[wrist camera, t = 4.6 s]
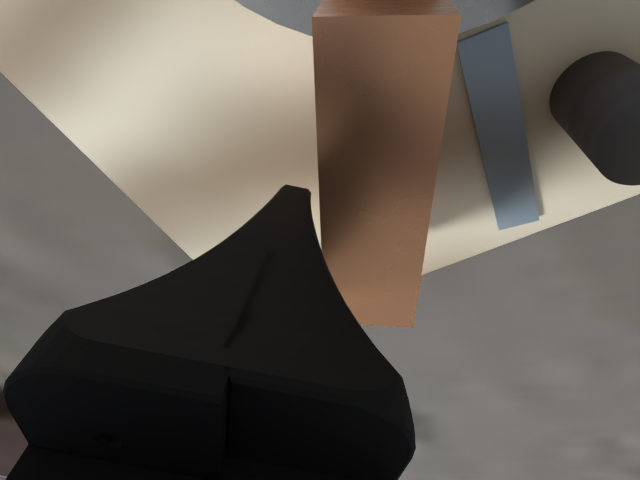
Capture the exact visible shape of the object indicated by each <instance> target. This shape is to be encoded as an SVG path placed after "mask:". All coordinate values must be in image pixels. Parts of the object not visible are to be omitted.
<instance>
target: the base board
mask: <svg viewBox="0 0 640 480" xmlns="http://www.w3.org/2000/svg"><path fill="white" fill-rule="evenodd" d="M0 72H1V73H2V74H3V75H4V76H5V77H6V78H7V79H8V80H9V81H10V82H11V83H12V84H14V85H15V86H16V87H17V88H18V89H19V90H20V91H21V92H22V93H23V94H24V95H25V96H26V97H27V98H28V99H29V100H30V101H31V102H32V103H33V104H34V105H35V106H36V107H37V108H38V109H39V110H40V111H41V112H42V113H43V114H44V115H45V116H46V117H47V118H48V119H49V120H50V121H51V122H52V123H53V124H55V125H56V126H57V127H58V128H59V129H60V130H61V131H62V132H63V133H64V134H65V135H66V136H67V137H68V138H69V139H70V140H71V141H72V142H73V143H74V144H75V145H76V146H77V147H78V148H79V149H80V150H81V151H82V152H83V153H84V154H85V155H86V156H87V157H88V158H89V159H90V160H91V161H92V162H93V163H94V164H96V165H97V166H98V167H99V168H100V169H101V170H102V171H103V172H104V173H105V174H106V175H107V176H108V177H109V178H110V179H111V180H112V181H113V182H114V183H115V184H116V185H117V186H118V187H119V188H120V189H121V190H122V191H123V192H124V193H125V194H126V195H127V196H128V197H129V198H130V199H131V200H132V201H133V202H134V203H136V204H137V205H138V206H139V207H140V208H141V209H142V210H143V211H144V212H145V213H146V214H147V215H148V216H149V217H150V218H151V219H152V220H153V221H154V222H155V223H156V224H157V225H158V226H159V227H160V228H161V229H162V230H163V231H164V232H165V233H166V234H167V235H168V236H169V237H170V238H171V239H172V240H173V241H174V242H175V243H177V244H178V245H179V246H180V247H181V248H182V249H183V250H184V251H185V252H186V253H187V254H188V255H189V256H190V257H191V258H192V259H193V260H194V259H196V258H197V257H199V256H201V255H202V254H204V253H205V252H207V251H209V250H210V249H212V248H213V247H215V246H216V245H218V244H219V243H220V242H222V241H223V240H225V239H226V238H227V237H229V236H230V235H231V234H232V233H234V232H235V231H236V230H238V229H239V228H240V227H241V226H243V225H244V224H245V223H246V222H247V221H249V220H250V219H251V218H252V217H253V216H254V215H255V214H256V213H257V212H258V211H259V210H261V209H262V208H263V207H264V206H265V205H266V204H267V203H268V202H269V201H270V200H271V199H272V198H273V196H274V195H275V194H276V193H277V192H278V191H279V190H280V188H281V187H283V186H284V185H285V184H286V185H291V186H296V187H301V188H307V189H309V191H310V192H311V210H312V217H313V222H314V226H315V230H316V234H317V238H318V241H319V244H320V247H321V230H320V205H319V181H318V157H317V133H316V109H315V85H314V61H313V37H312V36H309V35H306V34H303V33H301V32H298V31H295V30H292V29H289V28H287V27H284V26H281V25H278V24H276V23H274V22H272V21H270V20H268V19H266V18H264V17H262V16H261V15H259V14H257V13H255V12H253V11H251V10H249V9H247V8H245V7H243V6H242V5H240V4H239V3H238V2H236V1H235V0H0ZM638 194H640V0H535V1H533V2H531V3H529V4H527V5H525V6H523V7H521V8H519V9H517V10H515V11H513V12H511V13H509V14H507V15H505V16H503V17H501V18H499V19H497V20H495V21H492V22H489V23H487V24H484V25H481V26H478V27H475V28H472V29H470V30H467V31H464V32H461V33H459V34H458V40H457V47H456V53H455V60H454V66H453V73H452V79H451V86H450V92H449V99H448V105H447V112H446V118H445V125H444V131H443V138H442V144H441V151H440V157H439V164H438V170H437V177H436V183H435V190H434V196H433V203H432V209H431V216H430V222H429V229H428V235H427V242H426V248H425V255H424V261H423V268H422V274H421V275H423V274H426V273H428V272H431V271H434V270H436V269H439V268H442V267H445V266H447V265H450V264H453V263H455V262H458V261H461V260H463V259H466V258H469V257H471V256H474V255H477V254H479V253H482V252H485V251H488V250H490V249H493V248H496V247H498V246H501V245H504V244H506V243H509V242H512V241H514V240H517V239H520V238H522V237H525V236H528V235H531V234H533V233H536V232H539V231H541V230H544V229H547V228H549V227H552V226H555V225H557V224H560V223H563V222H565V221H568V220H571V219H574V218H576V217H579V216H582V215H584V214H587V213H590V212H592V211H595V210H598V209H600V208H603V207H606V206H608V205H611V204H614V203H617V202H619V201H622V200H625V199H627V198H630V197H633V196H635V195H638Z"/></svg>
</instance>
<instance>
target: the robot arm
mask: <svg viewBox="0 0 640 480" xmlns="http://www.w3.org/2000/svg"><path fill="white" fill-rule="evenodd" d="M3 394H4V397H5V400H6V403H7V406H8V409H9V411H10V412H11V414H12V416H13V417H14V419H15V421H16V423H17V424H18V426H19V428H20V429H21V431H22V433H23V435H24V436H25V438H26V440H27V442H28V443H29V445H28V446H27V448H26V449H25V451H24V452H23V454H22V455H21V457H20V458H19V460H18V461H17V463H16V464H15V466H14V467H13V469H12V470H11V472H10V474H9V475H8V477H6V476H0V480H398V479H399V477H400V476H401V474H402V473H403V471H404V470H405V468H406V467H407V465H408V464H409V462H410V461H411V459H412V457H413V454H414V451H415V448H416V446H415V431H414V424H413V419H412V413H411V409H410V404H409V400H408V396H407V392H406V389H405V385H404V382H403V379H402V377H401V375H400V374H399V373H398V372H397V371H396V370H395V369H394V367H393V366H392V365H391V364H390V363H389V362H388V361H387V359H386V358H385V357H384V356H383V355H382V354H381V353H380V352H379V350H378V349H377V348H376V347H375V345H374V344H373V343H372V341H371V340H370V338H369V337H368V336H367V334H366V333H365V332H364V330H363V329H362V327H361V326H360V324H359V323H358V321H357V320H356V318H355V317H354V315H353V313H352V312H351V310H350V309H349V307H348V306H347V304H346V302H345V301H344V299H343V297H342V295H341V293H340V291H339V290H338V288H337V286H336V284H335V282H334V280H333V277H332V275H331V273H330V271H329V269H328V266H327V264H326V261H325V259H324V256H323V253H322V250H321V247H320V244H319V241H318V238H317V234H316V230H315V226H314V222H313V217H312V210H311V192H310V191H309V189H307V188H301V187H296V186H291V185H286V184H285V185H284V186H283V187H281V188H280V190H279V191H278V192H277V193H276V194H275V195H274V196H273V198H272V199H271V200H270V201H269V202H268V203H267V204H266V205H265V206H264V207H263V208H262V209H261V210H259V211H258V212H257V213H256V214H255V215H254V216H253V217H252V218H251V219H250V220H249V221H247V222H246V223H245V224H244V225H243V226H241V227H240V228H239V229H238V230H236V231H235V232H234V233H232V234H231V235H230V236H229V237H227V238H226V239H225V240H223V241H222V242H220V243H219V244H218V245H216V246H215V247H213V248H212V249H210V250H209V251H207V252H205V253H204V254H202V255H201V256H199V257H197V258H196V259H194V260H192V261H190V262H188V263H187V264H185V265H183V266H181V267H179V268H177V269H175V270H173V271H171V272H170V273H168V274H166V275H163V276H161V277H159V278H157V279H154V280H152V281H150V282H148V283H145V284H143V285H140V286H138V287H135V288H133V289H130V290H128V291H125V292H122V293H120V294H117V295H114V296H111V297H108V298H105V299H102V300H99V301H95V302H92V303H89V304H86V305H83V306H80V307H77V308H74V309H70V310H67V311H64V312H63V313H62V315H61V316H60V317H59V318H58V319H57V320H56V321H55V322H54V323H53V324H52V325H51V326H50V327H49V328H48V329H47V330H46V331H45V332H44V334H43V335H42V336H41V337H40V338H39V339H38V341H37V342H36V343H35V344H34V346H33V347H32V348H31V349H30V351H29V352H28V353H27V354H26V356H25V357H24V358H23V359H22V361H21V362H20V363H19V364H18V366H17V367H16V368H15V370H14V371H13V372H12V373H11V375H10V376H9V377H8V378H7V380H6V381H5V385H4V389H3Z"/></svg>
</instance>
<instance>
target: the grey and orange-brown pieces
mask: <svg viewBox="0 0 640 480" xmlns="http://www.w3.org/2000/svg"><path fill="white" fill-rule="evenodd" d="M235 1H236V2H238V3H239V4H240V5H242V6H243V7H245V8H247V9H249V10H251V11H253V12H255V13H257V14H259V15H261V16H262V17H264V18H266V19H268V20H270V21H272V22H274V23H276V24H278V25H281V26H284V27H287V28H289V29H292V30H295V31H298V32H301V33H303V34H306V35H309V36H312V37H313V61H314V85H315V109H316V133H317V157H318V181H319V205H320V230H321V250H322V253H323V256H324V259H325V261H326V264H327V266H328V269H329V271H330V273H331V275H332V277H333V280H334V282H335V284H336V286H337V288H338V290H339V291H340V293H341V295H342V297H343V299H344V301H345V302H346V304H347V306H348V307H349V309H350V310H351V312H352V313H353V315H354V317H355V318H356V320H357V321H358V323H359V324H363V325H379V326H395V327H410V328H413V326H414V320H415V313H416V307H417V300H418V294H419V287H420V281H421V274H422V268H423V261H424V255H425V248H426V242H427V235H428V229H429V222H430V216H431V209H432V203H433V196H434V190H435V183H436V177H437V170H438V164H439V157H440V151H441V144H442V138H443V131H444V125H445V118H446V112H447V105H448V99H449V92H450V86H451V79H452V73H453V66H454V60H455V53H456V47H457V40H458V34H459V33H461V32H464V31H467V30H470V29H472V28H475V27H478V26H481V25H484V24H487V23H489V22H492V21H495V20H497V19H499V18H501V17H503V16H505V15H507V14H509V13H511V12H513V11H515V10H517V9H519V8H521V7H523V6H525V5H527V4H529V3H531V2H533V1H535V0H235Z"/></svg>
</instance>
